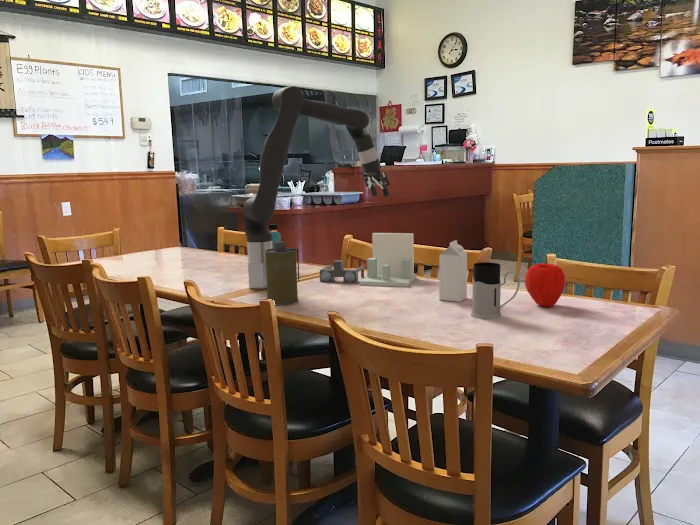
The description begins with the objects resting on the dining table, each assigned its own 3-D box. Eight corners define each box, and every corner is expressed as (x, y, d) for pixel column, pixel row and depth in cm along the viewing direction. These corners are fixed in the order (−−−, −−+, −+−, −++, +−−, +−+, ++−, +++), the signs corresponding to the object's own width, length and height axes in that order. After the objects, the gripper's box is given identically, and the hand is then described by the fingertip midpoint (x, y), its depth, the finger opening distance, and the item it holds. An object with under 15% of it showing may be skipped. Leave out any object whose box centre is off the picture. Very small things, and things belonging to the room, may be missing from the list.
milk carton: (439, 300, 185) (439, 242, 182) (446, 295, 191) (446, 239, 188) (460, 302, 182) (460, 243, 178) (466, 297, 188) (467, 240, 185)
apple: (516, 303, 178) (517, 261, 176) (546, 299, 182) (548, 258, 180) (541, 312, 167) (542, 267, 165) (573, 307, 171) (574, 264, 169)
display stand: (408, 286, 207) (407, 239, 204) (360, 285, 212) (359, 238, 209) (416, 277, 223) (416, 233, 221) (371, 276, 229) (370, 232, 226)
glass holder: (479, 310, 171) (479, 261, 169) (524, 317, 162) (526, 265, 160) (465, 316, 165) (465, 265, 162) (512, 323, 156) (513, 270, 153)
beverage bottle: (281, 270, 247) (279, 224, 243) (266, 270, 247) (264, 224, 244) (283, 267, 253) (281, 223, 250) (268, 268, 253) (266, 223, 250)
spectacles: (355, 282, 216) (355, 262, 215) (319, 281, 220) (319, 261, 219) (364, 276, 228) (363, 257, 227) (329, 275, 232) (329, 256, 231)
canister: (269, 306, 182) (266, 244, 178) (264, 299, 192) (261, 241, 188) (302, 303, 185) (300, 242, 181) (296, 297, 195) (294, 239, 191)
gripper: (352, 163, 238) (364, 199, 243) (372, 162, 226) (384, 200, 232) (366, 156, 241) (378, 192, 247) (386, 155, 229) (397, 193, 235)
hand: (380, 196), depth 239 cm, fingers open, 8 cm apart
